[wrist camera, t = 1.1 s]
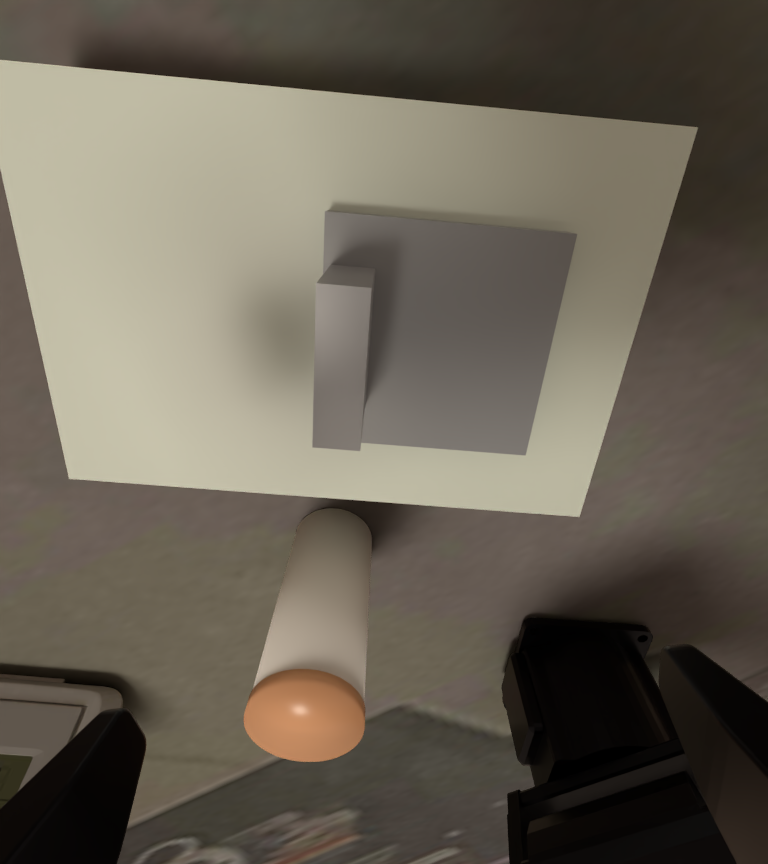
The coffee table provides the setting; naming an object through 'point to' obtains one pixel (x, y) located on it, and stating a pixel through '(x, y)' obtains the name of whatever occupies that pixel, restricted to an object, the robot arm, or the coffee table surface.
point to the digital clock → (42, 723)
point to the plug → (316, 644)
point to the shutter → (433, 331)
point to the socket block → (302, 271)
